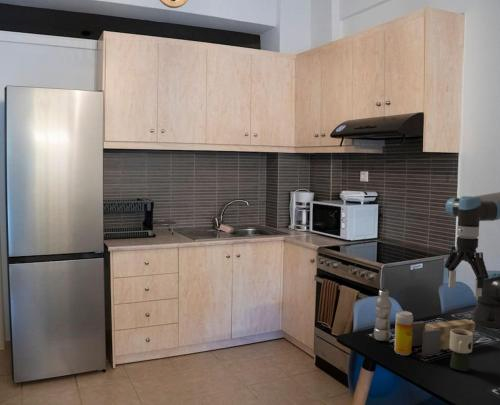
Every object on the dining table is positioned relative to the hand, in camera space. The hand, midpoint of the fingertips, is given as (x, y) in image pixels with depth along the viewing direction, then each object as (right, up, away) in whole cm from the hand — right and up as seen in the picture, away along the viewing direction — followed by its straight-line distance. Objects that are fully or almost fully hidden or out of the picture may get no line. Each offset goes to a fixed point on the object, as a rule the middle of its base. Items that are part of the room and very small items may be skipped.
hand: (464, 291), depth 187 cm
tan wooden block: (-6, -21, 0) cm, 22 cm away
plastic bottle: (-31, -20, +5) cm, 37 cm away
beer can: (-26, -21, -8) cm, 35 cm away
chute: (-18, -21, -4) cm, 28 cm away
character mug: (-11, -23, -21) cm, 33 cm away
